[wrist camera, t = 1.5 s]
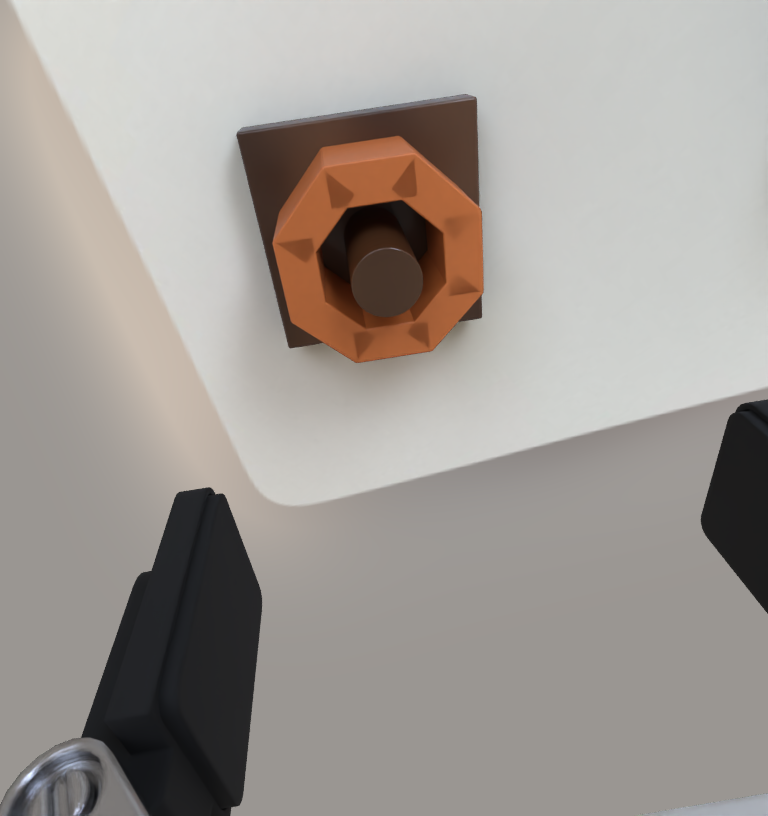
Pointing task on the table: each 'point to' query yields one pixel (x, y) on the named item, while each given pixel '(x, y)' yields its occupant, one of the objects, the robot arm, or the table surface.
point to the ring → (441, 264)
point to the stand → (373, 224)
